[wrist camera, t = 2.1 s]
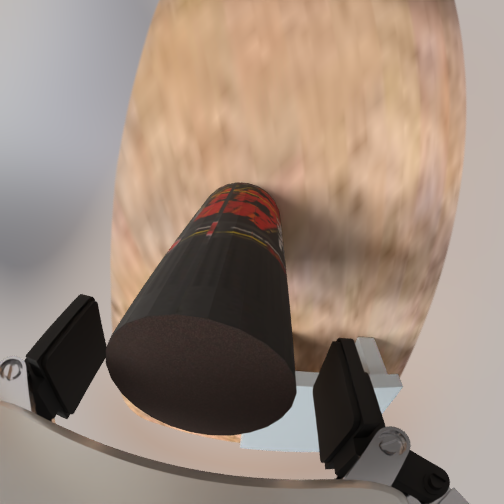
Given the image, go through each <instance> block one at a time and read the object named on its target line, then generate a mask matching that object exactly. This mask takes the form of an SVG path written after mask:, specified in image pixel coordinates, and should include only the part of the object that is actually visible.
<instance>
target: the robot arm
mask: <svg viewBox="0 0 504 504" xmlns="http://www.w3.org/2000/svg"><path fill="white" fill-rule="evenodd" d="M105 358H106V343H105V338H104V333H103V329H102V324H101V319H100V314H99V309H98V303H97V302H96V301H95V299H94V298H93V297H90V296H87V295H83V294H80V295H79V296H78V297H77V298H76V299H75V300H74V301H73V302H72V303H71V304H70V306H69V307H68V308H67V309H66V310H65V311H64V312H63V313H62V314H61V315H60V316H59V317H58V318H57V320H56V321H55V322H54V323H53V324H52V325H51V326H50V327H49V329H48V330H47V331H46V332H45V333H44V334H43V336H42V337H41V338H40V339H39V341H37V343H36V344H35V345H34V346H33V348H32V349H31V350H30V351H29V352H28V354H27V355H26V359H25V361H24V360H23V359H21V358H20V357H18V356H9V357H6V358H4V359H3V360H1V362H0V504H469V503H468V502H467V501H466V500H465V499H464V498H463V496H462V495H461V494H460V493H459V492H458V491H457V490H456V489H455V488H452V489H450V488H449V485H450V481H449V477H448V475H447V473H446V472H445V471H444V470H443V469H441V468H440V467H438V466H436V465H435V464H433V463H431V462H429V461H428V460H426V459H424V458H422V457H421V456H419V455H417V454H416V453H414V452H412V451H411V450H410V440H409V437H408V436H407V434H406V433H405V432H404V431H402V430H401V429H399V428H396V427H385V423H384V420H383V417H382V413H381V410H380V407H379V404H378V401H377V397H376V394H375V391H374V388H373V385H372V382H371V379H370V376H369V374H368V373H367V372H364V369H363V366H362V363H361V360H360V357H359V354H358V351H357V348H356V345H355V342H354V340H353V339H347V338H338V339H337V341H333V342H332V344H331V346H330V349H329V351H328V353H327V356H326V358H325V361H324V363H323V365H322V368H321V370H320V372H319V374H318V377H317V379H316V381H315V383H314V386H313V401H314V409H315V417H316V425H317V434H318V443H319V452H320V460H321V462H322V463H325V469H335V474H336V475H337V476H336V477H335V478H334V479H328V480H325V479H324V480H323V479H322V480H321V479H320V480H289V479H264V478H252V477H241V476H232V475H224V474H218V473H211V472H205V471H199V470H194V469H189V468H184V467H178V466H175V465H170V464H166V463H162V462H158V461H154V460H151V459H147V458H144V457H140V456H137V455H134V454H130V453H127V452H124V451H121V450H118V449H115V448H113V447H110V446H107V445H104V444H102V443H99V442H96V441H94V440H91V439H89V438H87V437H84V436H82V435H79V434H77V433H75V432H72V431H70V430H68V429H66V428H63V427H62V426H59V425H57V424H56V423H55V419H54V418H55V416H56V414H57V415H59V416H61V417H63V418H65V419H68V417H69V415H70V414H73V413H74V412H75V410H76V408H77V407H78V405H79V403H80V401H81V399H82V398H83V396H84V394H85V392H86V390H87V389H88V387H89V385H90V383H91V382H92V380H93V378H94V376H95V375H96V373H97V371H98V370H99V368H100V366H101V364H102V363H103V361H104V359H105Z"/></svg>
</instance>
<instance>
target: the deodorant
mask: <svg viewBox="0 0 504 504" xmlns="http://www.w3.org/2000/svg"><path fill="white" fill-rule="evenodd" d="M106 365H107V368H108V370H109V373H110V376H111V378H112V380H113V382H114V383H115V385H116V386H117V387H118V389H119V390H120V392H121V393H122V394H123V395H124V396H125V397H126V398H127V399H128V400H129V401H130V402H132V403H133V404H134V405H135V406H136V407H137V408H139V409H140V410H142V411H143V412H145V413H146V414H148V415H150V416H151V417H153V418H155V419H157V420H159V421H161V422H163V423H166V424H168V425H170V426H173V427H176V428H179V429H183V430H186V431H189V432H194V433H201V434H207V435H237V434H244V433H250V432H254V431H257V430H260V429H263V428H266V427H268V426H270V425H271V424H273V423H275V422H276V421H278V420H280V419H281V418H282V417H283V416H284V415H285V414H286V413H287V412H288V411H289V410H290V408H291V407H292V405H293V402H294V400H295V397H296V394H297V389H296V375H295V361H294V349H293V337H292V326H291V315H290V304H289V294H288V284H287V274H286V265H285V256H284V247H283V238H282V229H281V221H280V214H279V210H278V208H277V205H276V203H275V201H274V200H273V199H272V198H271V196H270V195H269V194H268V193H267V192H265V191H264V190H262V189H261V188H259V187H257V186H254V185H252V184H248V183H233V184H227V185H225V186H223V187H221V188H219V189H217V190H216V191H215V192H214V193H212V194H211V195H210V196H209V198H208V199H207V200H206V201H205V203H204V204H203V205H202V207H201V208H200V209H199V210H198V212H197V213H196V214H195V216H194V217H193V218H192V220H191V221H190V222H189V224H188V225H187V226H186V228H185V229H184V230H183V232H182V233H181V234H180V236H179V237H178V238H177V240H176V241H175V242H174V244H173V245H172V247H171V248H170V249H169V251H168V252H167V254H166V255H165V256H164V258H163V259H162V261H161V262H160V263H159V265H158V266H157V268H156V269H155V270H154V272H153V273H152V275H151V276H150V278H149V279H148V281H147V282H146V283H145V285H144V286H143V288H142V289H141V291H140V292H139V294H138V295H137V297H136V298H135V300H134V301H133V303H132V304H131V306H130V307H129V309H128V310H127V312H126V313H125V315H124V317H123V318H122V320H121V321H120V323H119V324H118V326H117V328H116V329H115V331H114V332H113V334H112V336H111V338H110V340H109V343H108V345H107V347H106Z"/></svg>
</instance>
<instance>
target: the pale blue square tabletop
mask: <svg viewBox="0 0 504 504" xmlns="http://www.w3.org/2000/svg"><path fill="white" fill-rule="evenodd" d="M355 345H356V348H357V351H358V354H359V357H360V360H361V363H362V366H363V369H364V372H367V373H368V374H369V376H370V379H371V382H372V385H373V388H374V391H375V394H376V397H377V401H378V404H379V407H380V410H381V413H383V412H384V411H385V410H386V408H387V407H388V406H389V405H390V403H391V402H392V401H393V399H394V398H395V397H396V395H397V394H398V393H399V391H400V390H401V389H402V387H403V386H402V383H401V381H400V378H399V375H398V374H387V371H386V368H385V366H384V363H383V360H382V358H381V355H380V352H379V350H378V347H377V345H376V342H375V340H374V338H367V337H358V338H357V340H356V342H355ZM318 374H319V373H317V372H302V371H295V375H296V389H297V394H296V397H295V400H294V402H293V405H292V407H291V408H290V410H289V411H288V412H287V413H286V414H285V415H284V416H283V417H282V418H281V419H280V420H278V421H276V422H275V423H273V424H271V425H270V426H268V427H266V428H263V429H260V430H257V431H254V432H250V433H244V434H242V435H241V443H240V448H245V449H255V450H268V451H287V452H319V443H318V434H317V425H316V417H315V409H314V401H313V386H314V383H315V381H316V379H317V377H318Z"/></svg>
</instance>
